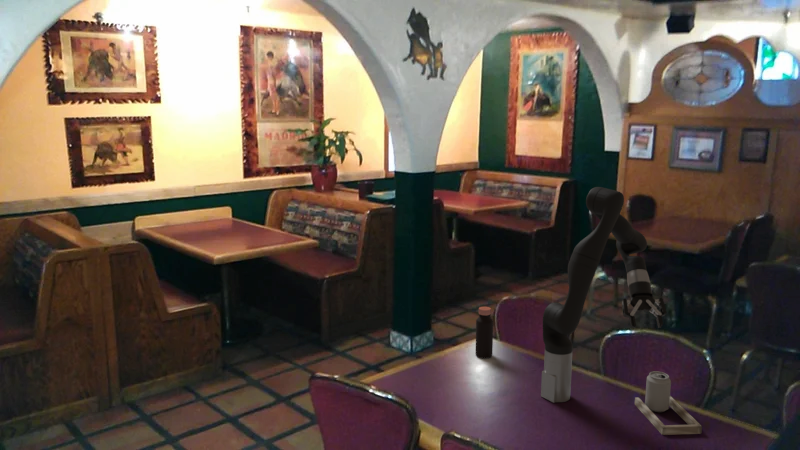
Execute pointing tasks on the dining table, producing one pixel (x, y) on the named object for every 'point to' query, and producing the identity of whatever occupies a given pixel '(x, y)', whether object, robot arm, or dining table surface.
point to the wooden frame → (691, 428)
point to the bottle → (484, 333)
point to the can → (658, 391)
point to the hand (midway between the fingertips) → (647, 327)
